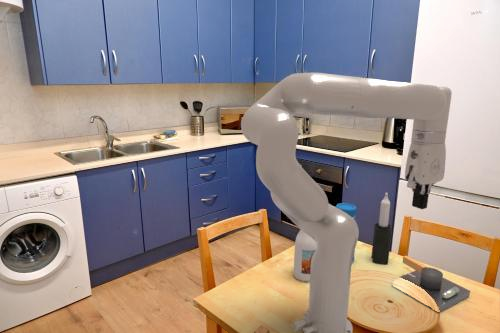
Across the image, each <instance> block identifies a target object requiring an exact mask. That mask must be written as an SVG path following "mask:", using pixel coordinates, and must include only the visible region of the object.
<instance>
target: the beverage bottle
mask: <svg viewBox="0 0 500 333" xmlns="http://www.w3.org/2000/svg"><path fill="white" fill-rule="evenodd" d="M335 207H336V208H338V209H340V210H342V211H344V212H345V213H347V214H348V215H349V216H351V217H352V218H353V219H354V221H355V222H356V224H357V225H358V223H357V220H356V215H357V206H356V205H355V204H351V203H348V202H344V203H343V202H341V203H340V202H339V203H337V204H336V206H335ZM355 250H356V249H355ZM355 250H354V253H353V258H352V263H353V264H354V262H355V254H356V252H355Z"/></svg>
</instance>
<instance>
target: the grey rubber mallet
mask: <svg viewBox="0 0 500 333" xmlns="http://www.w3.org/2000/svg"><path fill="white" fill-rule="evenodd" d="M402 264H404V265H406V266H407V267H409V268H411V269H412V270H413V271H418V272H420V273H421V278H420V284H421V285H422V286H424V287H426V288H428V289H432V290H438V289H440V288H441V284H442V278H444V277H443V276H444V274H443V272H442V271H441V270H439V269H436V268H434V267H428V266H426V265H424V264H423V263H421V262H419V261H418V260H415V259H414V258H412V257H410V256H408V255H403V256H402Z"/></svg>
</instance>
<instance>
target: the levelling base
mask: <svg viewBox="0 0 500 333" xmlns="http://www.w3.org/2000/svg"><path fill="white" fill-rule="evenodd" d="M400 277H401V278H403V279H405V280H408V281H410V282H412V283H414V284H415V285H417V286H419V287H421V288H422V289H424V290H425V291H426V292H427V293H428V294H429V295H430V296H431V297H432V298H433V299H434V300H435V302H436V304H437V306H438V307H439V310H440V313H442V312H444V311H445V310H447V309H450V308H451V307H453V306H455V305H456V304H458V303H460V302H462V301H463V302H464V300H466V299H468V298H470V294H471V290H470V289H467V288H465V287H463V286H461V285H459V284H457V283H455V282H453V281H452V280H449V279H447V278H445V277H443V278H442V284H441V288H440V289H438V290H432V289H428V288H426V287H424V286H422V285H421V284H420V278H421V273H420V272H418V271H416V270H413V271H411V272H409V273H406V274H403V275H400Z"/></svg>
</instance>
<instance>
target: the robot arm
mask: <svg viewBox="0 0 500 333" xmlns="http://www.w3.org/2000/svg"><path fill="white" fill-rule="evenodd" d="M452 94H453V93H452V90H451V88H449V87H447V86H437V85H434V84H433V85H432V84H424V83H414V82H402V81H392V80H385V79H378V78H371V77H362V76H361V77H360V76H352V75H344V74H343V75H342V74H341V75H340V74H333V73H332V74H331V73H325V72H300V73H296V72H295V73H291V74H289V75H287V76H286V77H285V78H283V79H281V81H279V82H278V83H277V84H275V85H274V86H273V87H272V88H271V89H270V90H269V91H267V92H266V93H265V94H264V95H262V97H261V98H259V99H258V100H257V101H256V102H254V103H253V104H252V105H251V106H250V107H249V108H248V109H247V110H246V111H245V113H244V114H243V116H242V118H241V122H240V128H241V129H240V130H241V133H242V134H243V136H244V138H245V139H246V140H248V141H249V142H250V143H251V144H254V145H256V146H257V149H256V155H255V168H256V172H257V175H258V178H259V180H260V181H261V183H262V184H263V185H264V186H265V188H267V190H269V191H270V196H271V199H272V202H273V203H274V205H275V206H276V208H278V209H279V210H280V211H282V213H283V214H284V215H286V217H287V218H288V219H289V220H291V222H292V223H293V224H295V226H297V227H298V229H299V230H300V229H301V230H302V231H304V232H305V233H306V234H307V235H309V236H310V237H311V238H312V239H313V240H315V241H316V243H317V249H316V251H315V253H314V254H313V256H312V260H311V269H310V271H311V272H310V281H309V291H308V292H309V293H308V310H307V311H305V312H304V314H303V315H302V319H301V320H297V321H295V322H293V323H292V324H291V326H292V329H293V331H294V332H298V331H300V330H303V333H353V330H354V328H353V324H352V322H351V321H350V319H349V320H348V319H347V318H348V312H349V301H350V288H351V287H350V286H351V275H352V274H351V272H352V266H353V265H352V258H353V253H354V250H356V246H357V243H358V240H359V236H360V235H359V234H360V232H359V226H358V223H357V221H356V222H355V221H354V219H353V218H352V217H351V216H349V215H348V214H347V213H345V212H344V211H342V210H340V209H338V208H336V206H334V205H332V204H331V203H329V200H328V196H327V194H326V192H325V191H324V189H323V188H322V187H321V186H320V185H319V184H318V183H317V182H316V181H315V180H314V179H313V178H312V177H311V176H310V174H308V172H306V171H307V170H305V169H304V168H303V167H302V165H301V163H299V161H298V159H297V157H296V152H297V150H296V149H297V146H298V139H299V133H300V131H299V125H298V124H299V123H298V122H297V120H296V118H295V117H294V116H295V115H296V114H297V113H304V114H309V115H320V116H339V117H354V118H367V119H400V120H402V119H403V120H413V122H412V131H411V140H410V145H409V149H408V154H407V157H406V163H405V168H404V169H405V171H404V179H405V181H407V185H406V187H407V188H409V189H411V190H412V193H413V195H412V200H411V201H412V203H411V206H412V207H414V208H417V209H420V210H424V209H427V208H428V203H429V195H430V193H431V191H432V187H433V185H435V184H437V183H439V182H441V181H442V180H444V177H445V173H446V172H445V171H446V158H447V157H446V156H447V150H446V148H447V147H446V137H447V130H448V121H449V114H450V108H451V102H452ZM356 223H357V224H356ZM354 254H355V253H354Z"/></svg>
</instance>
